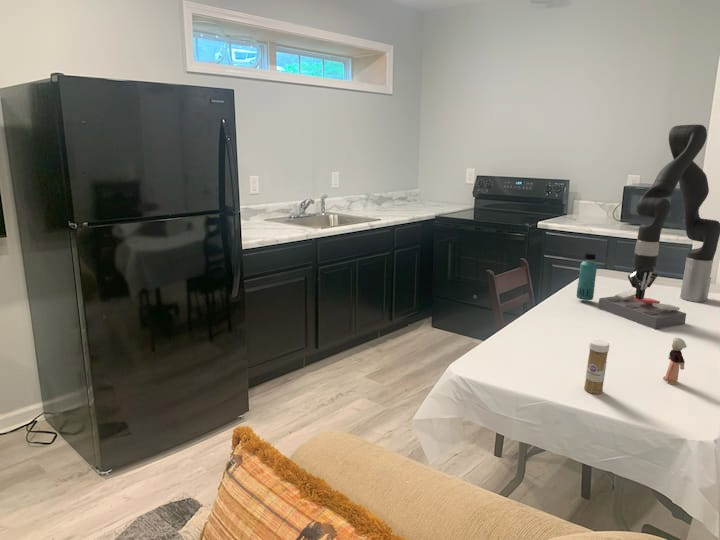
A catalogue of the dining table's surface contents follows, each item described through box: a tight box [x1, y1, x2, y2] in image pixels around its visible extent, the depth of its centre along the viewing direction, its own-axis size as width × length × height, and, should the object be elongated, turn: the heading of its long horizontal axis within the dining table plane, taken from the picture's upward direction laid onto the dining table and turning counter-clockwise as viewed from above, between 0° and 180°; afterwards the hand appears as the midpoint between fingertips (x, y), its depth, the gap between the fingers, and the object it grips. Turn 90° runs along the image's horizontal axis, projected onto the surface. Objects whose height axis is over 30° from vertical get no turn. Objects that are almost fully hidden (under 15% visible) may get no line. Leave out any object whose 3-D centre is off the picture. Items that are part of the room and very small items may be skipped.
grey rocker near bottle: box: [614, 288, 636, 300], centre depth 206 cm, size 9×4×2 cm, turn 113°
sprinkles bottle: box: [583, 339, 610, 395], centre depth 138 cm, size 5×5×13 cm
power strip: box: [597, 295, 687, 330], centre depth 199 cm, size 15×25×4 cm, turn 23°
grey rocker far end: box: [652, 303, 681, 311], centre depth 192 cm, size 9×4×2 cm, turn 113°
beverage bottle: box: [576, 252, 598, 301], centre depth 213 cm, size 6×7×20 cm
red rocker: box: [634, 296, 661, 305], centre depth 199 cm, size 9×4×2 cm, turn 113°
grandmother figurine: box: [662, 337, 688, 386], centre depth 143 cm, size 8×4×13 cm, turn 5°
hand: (639, 298), depth 197 cm, fingers closed
